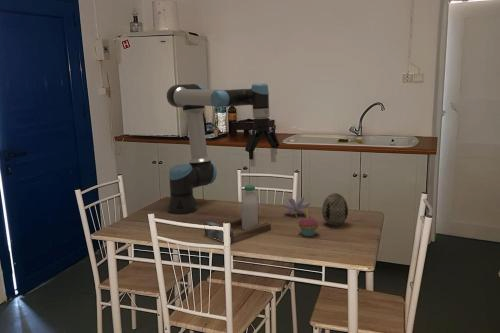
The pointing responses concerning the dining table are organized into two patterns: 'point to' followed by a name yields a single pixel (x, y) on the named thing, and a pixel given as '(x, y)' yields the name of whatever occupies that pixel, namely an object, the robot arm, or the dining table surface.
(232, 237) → the guide channel
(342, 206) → the decorative egg
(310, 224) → the cupcake
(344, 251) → the dining table surface
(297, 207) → the water lily
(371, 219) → the dining table surface
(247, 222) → the milk bottle
